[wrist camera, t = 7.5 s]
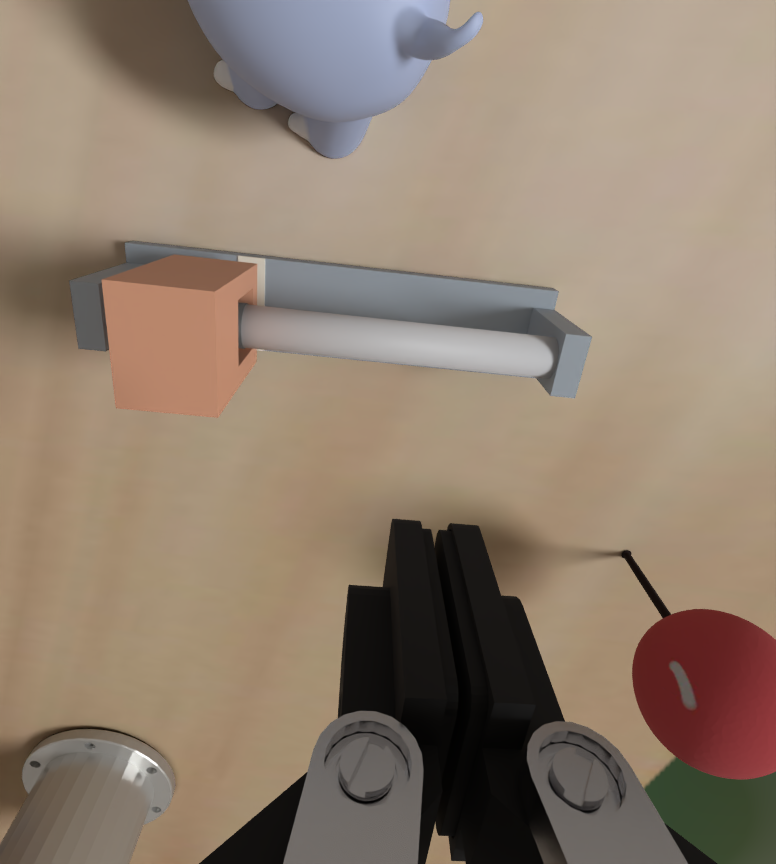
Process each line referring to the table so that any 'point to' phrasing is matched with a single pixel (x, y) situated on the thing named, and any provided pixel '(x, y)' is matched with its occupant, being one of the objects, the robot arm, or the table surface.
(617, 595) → the table surface
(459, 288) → the rail
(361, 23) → the hippopotamus toy
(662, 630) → the lollipop
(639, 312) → the table surface
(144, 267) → the collar
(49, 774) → the robot arm
